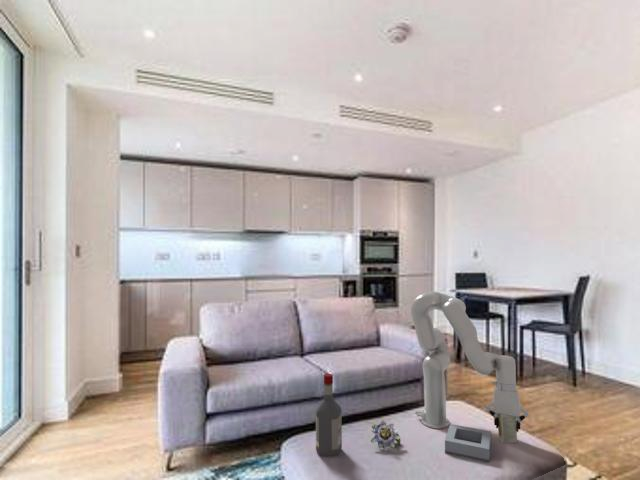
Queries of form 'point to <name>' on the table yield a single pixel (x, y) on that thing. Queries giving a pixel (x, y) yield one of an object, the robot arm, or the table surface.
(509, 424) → the skincare box
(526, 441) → the table surface
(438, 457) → the table surface
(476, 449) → the socket block
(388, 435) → the passion flower
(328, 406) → the liquor
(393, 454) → the table surface
